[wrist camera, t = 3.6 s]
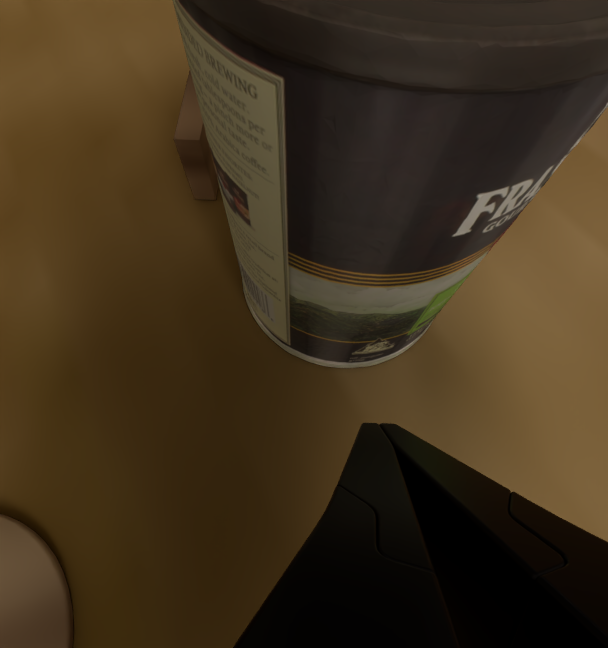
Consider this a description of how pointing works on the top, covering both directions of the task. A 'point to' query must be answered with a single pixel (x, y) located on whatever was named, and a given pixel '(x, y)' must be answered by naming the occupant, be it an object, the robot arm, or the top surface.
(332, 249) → the coffee can
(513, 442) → the top surface
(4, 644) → the cork mat
